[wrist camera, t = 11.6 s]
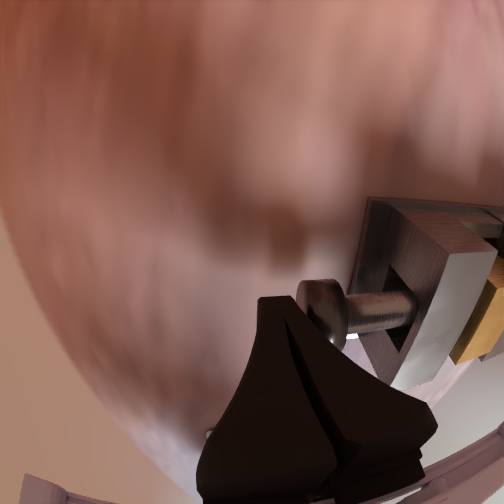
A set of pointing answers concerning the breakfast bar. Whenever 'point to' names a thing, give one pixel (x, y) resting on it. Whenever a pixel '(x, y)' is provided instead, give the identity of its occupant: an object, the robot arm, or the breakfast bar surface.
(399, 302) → the shaft
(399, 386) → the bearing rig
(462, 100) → the breakfast bar surface
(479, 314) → the block
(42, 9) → the breakfast bar surface
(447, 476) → the robot arm
